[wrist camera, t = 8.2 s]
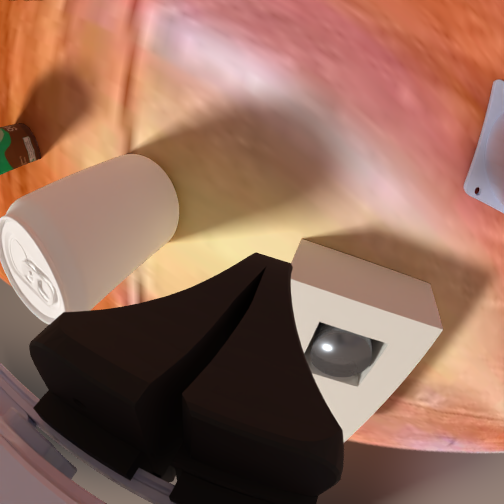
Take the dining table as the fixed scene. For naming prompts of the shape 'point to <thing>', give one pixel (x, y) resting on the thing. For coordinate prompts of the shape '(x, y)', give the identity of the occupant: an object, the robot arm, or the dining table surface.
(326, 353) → the peg
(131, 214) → the beverage can
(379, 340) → the bore block
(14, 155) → the food container
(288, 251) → the dining table surface
